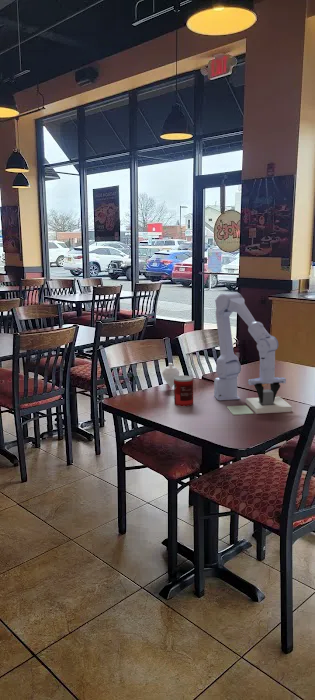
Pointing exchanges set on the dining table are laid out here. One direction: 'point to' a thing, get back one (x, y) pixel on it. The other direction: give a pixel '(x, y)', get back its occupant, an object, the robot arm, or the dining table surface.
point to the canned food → (183, 390)
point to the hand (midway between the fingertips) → (266, 401)
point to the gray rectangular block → (267, 397)
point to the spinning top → (170, 374)
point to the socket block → (269, 406)
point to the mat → (239, 410)
